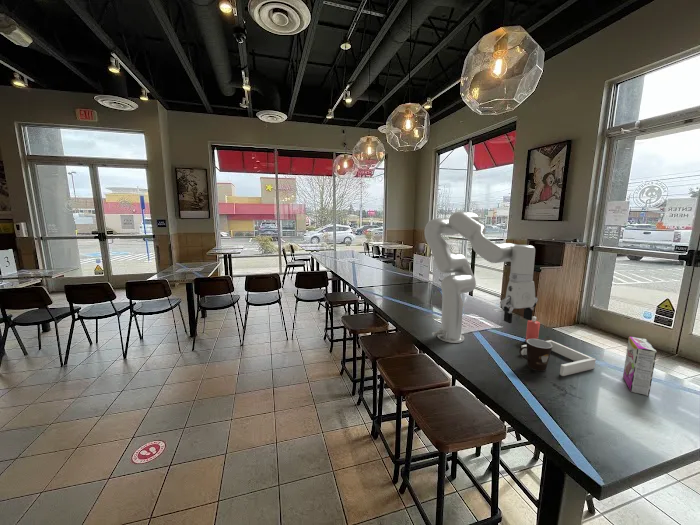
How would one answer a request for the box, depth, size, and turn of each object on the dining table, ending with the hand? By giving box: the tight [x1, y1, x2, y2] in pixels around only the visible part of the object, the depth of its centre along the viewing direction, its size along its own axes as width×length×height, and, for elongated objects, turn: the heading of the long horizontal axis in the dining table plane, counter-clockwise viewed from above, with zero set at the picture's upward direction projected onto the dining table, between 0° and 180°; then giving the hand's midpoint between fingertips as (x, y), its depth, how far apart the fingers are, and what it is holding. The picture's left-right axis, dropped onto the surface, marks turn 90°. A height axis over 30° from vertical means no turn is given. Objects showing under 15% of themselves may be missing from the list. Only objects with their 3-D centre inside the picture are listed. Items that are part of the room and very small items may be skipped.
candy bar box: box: [622, 336, 657, 397], centre depth 102 cm, size 11×5×16 cm, turn 148°
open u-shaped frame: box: [520, 339, 597, 377], centre depth 121 cm, size 17×18×4 cm
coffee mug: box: [518, 338, 552, 372], centre depth 116 cm, size 12×9×10 cm
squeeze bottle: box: [525, 316, 541, 343], centre depth 138 cm, size 5×5×12 cm
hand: (517, 320), depth 113 cm, fingers open, 9 cm apart
